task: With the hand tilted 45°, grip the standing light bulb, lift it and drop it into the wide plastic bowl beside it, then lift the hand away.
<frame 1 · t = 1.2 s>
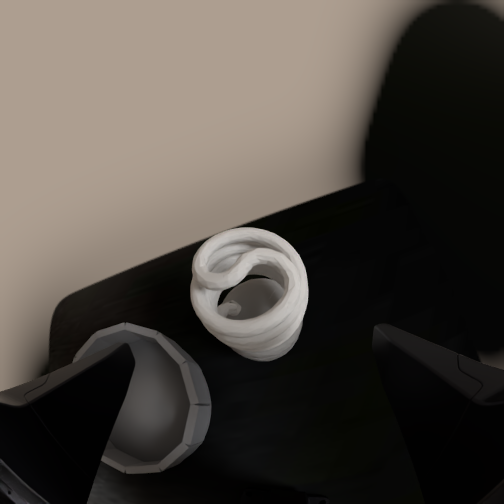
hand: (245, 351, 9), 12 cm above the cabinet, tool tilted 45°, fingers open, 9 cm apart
bowl: (143, 401, 19), on the cabinet
light bulb: (267, 336, 21), on the cabinet
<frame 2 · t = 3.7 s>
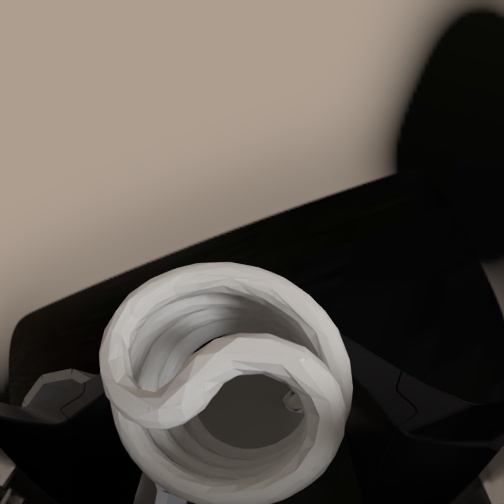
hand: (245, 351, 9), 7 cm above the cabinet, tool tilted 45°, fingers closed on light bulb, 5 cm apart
bowl: (108, 460, 12), on the cabinet
light bulb: (265, 393, 14), on the cabinet, touching gripper
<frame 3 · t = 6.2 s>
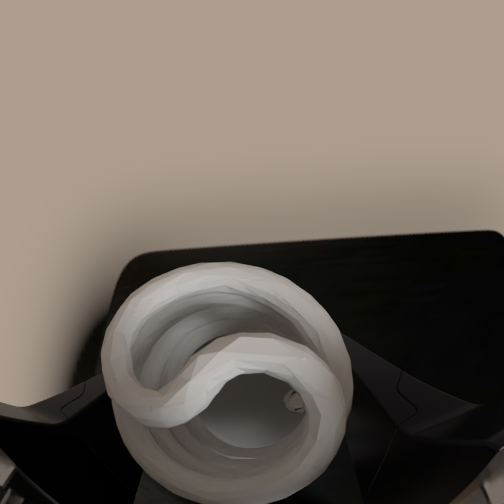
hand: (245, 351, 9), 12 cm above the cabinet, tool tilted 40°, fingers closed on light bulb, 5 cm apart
light bulb: (265, 392, 14), point 5 cm above the cabinet, touching gripper
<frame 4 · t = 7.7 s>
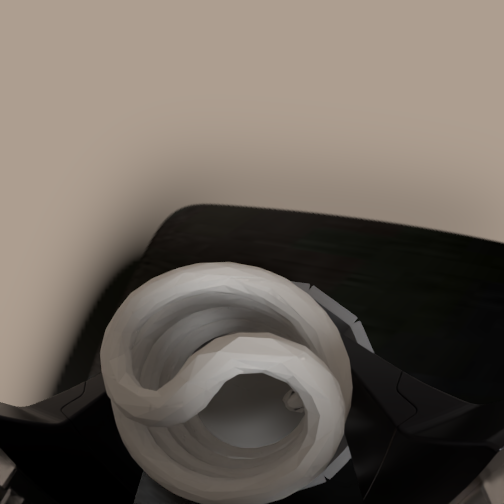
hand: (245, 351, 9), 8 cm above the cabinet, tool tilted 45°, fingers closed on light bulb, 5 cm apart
bowl: (265, 390, 15), on the cabinet
light bulb: (265, 392, 14), point 1 cm above the cabinet, touching gripper
when the fingers open (8 cm above the cabinet, at t = 8.5 s): light bulb stays where it is, resting on bowl.
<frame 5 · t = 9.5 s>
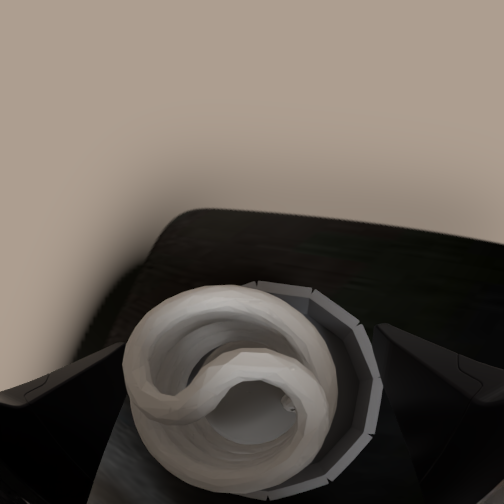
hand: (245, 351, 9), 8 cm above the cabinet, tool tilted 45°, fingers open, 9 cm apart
bowl: (268, 393, 15), on the cabinet
light bulb: (265, 394, 15), resting on bowl
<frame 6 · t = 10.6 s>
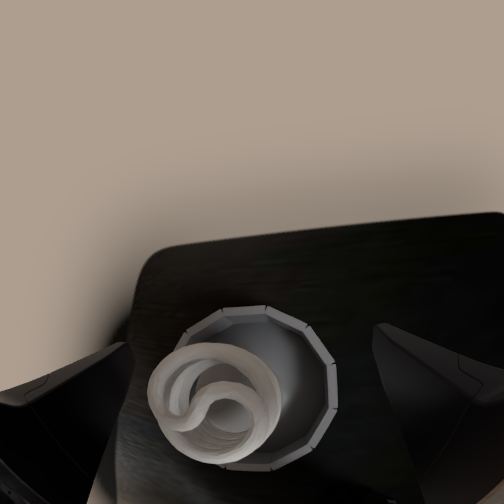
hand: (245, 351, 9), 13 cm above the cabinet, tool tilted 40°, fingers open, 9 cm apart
bowl: (254, 389, 20), on the cabinet
light bulb: (252, 390, 19), resting on bowl
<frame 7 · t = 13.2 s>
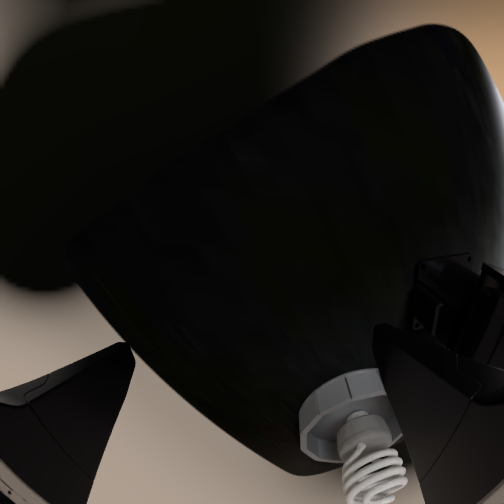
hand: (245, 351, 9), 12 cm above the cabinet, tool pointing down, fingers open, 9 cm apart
bowl: (354, 409, 24), on the cabinet
light bulb: (355, 411, 24), resting on bowl
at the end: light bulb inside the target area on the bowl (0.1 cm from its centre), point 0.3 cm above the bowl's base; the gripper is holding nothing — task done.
